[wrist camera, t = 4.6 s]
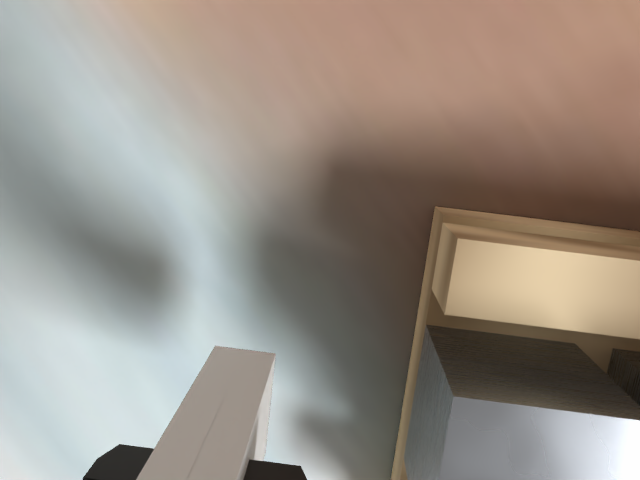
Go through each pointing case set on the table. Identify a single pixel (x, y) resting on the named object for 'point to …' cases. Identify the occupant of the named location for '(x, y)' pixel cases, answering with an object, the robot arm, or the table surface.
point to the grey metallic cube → (517, 412)
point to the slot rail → (526, 287)
